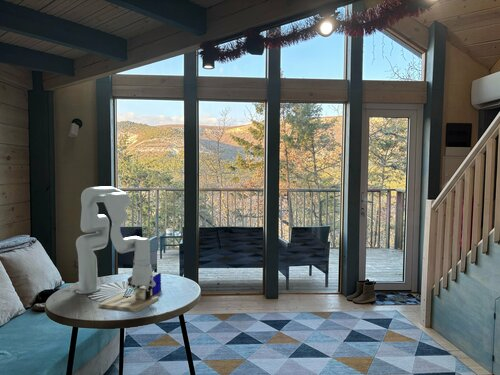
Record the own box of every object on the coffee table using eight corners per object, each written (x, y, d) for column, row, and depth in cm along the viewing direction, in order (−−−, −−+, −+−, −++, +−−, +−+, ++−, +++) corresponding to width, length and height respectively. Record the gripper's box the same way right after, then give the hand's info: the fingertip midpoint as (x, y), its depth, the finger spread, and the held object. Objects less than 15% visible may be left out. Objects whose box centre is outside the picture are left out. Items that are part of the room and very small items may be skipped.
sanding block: (135, 299, 181) (135, 289, 181) (143, 295, 188) (143, 285, 188) (143, 300, 180) (143, 290, 180) (152, 296, 186) (151, 286, 186)
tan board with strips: (98, 307, 176) (98, 303, 176) (123, 295, 193) (122, 292, 193) (136, 311, 168) (136, 308, 168) (158, 299, 186) (158, 296, 185)
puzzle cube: (153, 295, 192) (152, 277, 192) (135, 295, 194) (135, 276, 194) (161, 290, 202) (161, 272, 202) (144, 289, 204) (144, 271, 204)
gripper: (123, 262, 182) (124, 298, 183) (152, 265, 177) (153, 301, 177) (133, 259, 189) (133, 294, 190) (161, 261, 184) (161, 297, 184)
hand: (143, 297), depth 183 cm, fingers closed on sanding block, 5 cm apart
